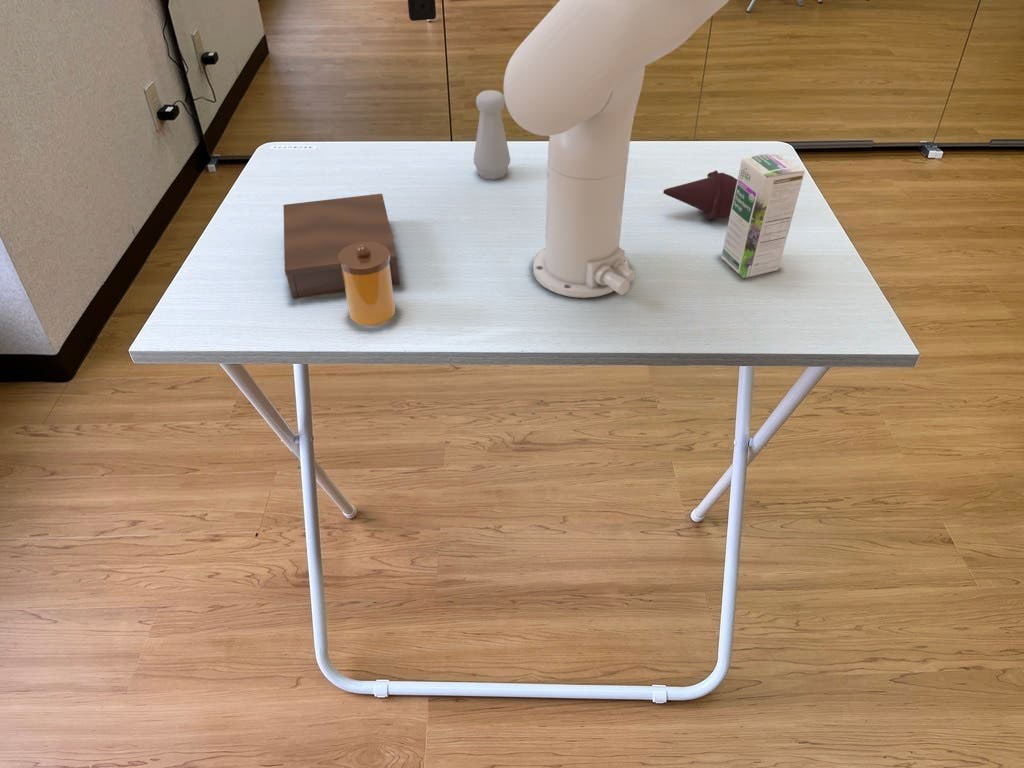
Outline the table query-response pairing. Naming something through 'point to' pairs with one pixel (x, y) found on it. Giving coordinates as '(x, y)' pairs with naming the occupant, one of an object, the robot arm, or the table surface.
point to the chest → (325, 282)
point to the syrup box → (761, 213)
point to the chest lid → (332, 231)
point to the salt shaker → (491, 136)
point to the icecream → (708, 194)
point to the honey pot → (367, 282)
